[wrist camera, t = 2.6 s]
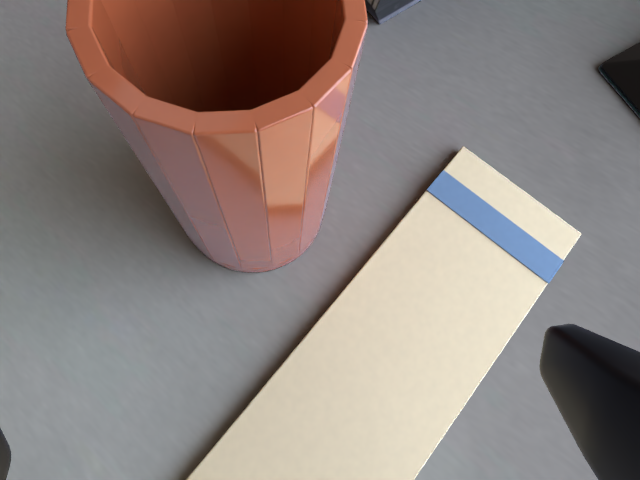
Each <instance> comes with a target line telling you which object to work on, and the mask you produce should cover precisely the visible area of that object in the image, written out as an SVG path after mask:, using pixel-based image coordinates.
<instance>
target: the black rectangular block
mask: <svg viewBox="0 0 640 480" xmlns="http://www.w3.org/2000/svg"><path fill="white" fill-rule="evenodd" d="M599 72H600V73H601V74H602V75H603V76H604V77H605V79H606V80H607V81H608V82H609V83H610V84H611V86H612V87H613V88H614V89H615V90H616V91H617V93H618V94H619V95H620V96H621V97H622V98H623V100H624V101H625V102H626V103H627V104H628V105H629V106H630V108H631V109H632V110H633V111H634V112H635V113H636V115H637V116H638V117H639V118H640V43H638V44H636V45H634V46H633V47H631V48H629V49H627V50H625V51H624V52H622V53H620V54H618V55H616V56H615V57H613V58H611V59H609V60H607V61H606V62H604V63H603V64H602V65H601V66H600V67H599Z"/></svg>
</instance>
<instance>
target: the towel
mask: <svg viewBox="0 0 640 480" xmlns="http://www.w3.org/2000/svg"><path fill="white" fill-rule="evenodd" d="M580 235H581V233H580V232H579V231H577V230H576V229H574V228H573V227H572V226H570V225H569V224H568V223H566V222H565V221H564V220H562V219H561V218H560V217H558V216H557V215H556V214H554V213H553V212H552V211H550V210H549V209H547V208H546V207H545V206H543V205H542V204H541V203H539V202H538V201H537V200H535V199H534V198H533V197H531V196H530V195H529V194H527V193H526V192H525V191H523V190H522V189H520V188H519V187H518V186H516V185H515V184H514V183H512V182H511V181H510V180H508V179H507V178H506V177H504V176H503V175H502V174H500V173H499V172H498V171H496V170H495V169H493V168H492V167H491V166H489V165H488V164H487V163H485V162H484V161H483V160H481V159H480V158H479V157H477V156H476V155H475V154H473V153H472V152H471V151H469V150H468V149H467V148H465V147H462V148H461V149H460V150H459V152H458V153H457V154H456V155H455V156H454V158H453V159H452V160H451V161H450V162H449V164H448V165H447V166H446V167H445V168H444V170H443V171H442V172H441V173H440V174H439V176H438V177H437V178H436V179H435V180H434V182H433V183H432V184H431V185H430V186H429V188H428V189H427V190H426V191H425V193H424V194H423V195H422V196H421V197H420V199H419V200H418V201H417V202H416V203H415V205H414V206H413V207H412V208H411V209H410V211H409V212H408V213H407V214H406V215H405V217H404V218H403V219H402V220H401V221H400V223H399V224H398V225H397V226H396V227H395V229H394V230H393V231H392V232H391V233H390V235H389V236H388V237H387V238H386V239H385V241H384V242H383V243H382V244H381V245H380V247H379V248H378V249H377V250H376V252H375V253H374V254H373V255H372V256H371V258H370V259H369V260H368V261H367V262H366V264H365V265H364V266H363V267H362V268H361V270H360V271H359V272H358V273H357V274H356V276H355V277H354V278H353V279H352V280H351V282H350V283H349V284H348V285H347V286H346V288H345V289H344V290H343V291H342V292H341V294H340V295H339V296H338V297H337V298H336V300H335V301H334V302H333V303H332V305H331V306H330V307H329V308H328V309H327V311H326V312H325V313H324V314H323V315H322V317H321V318H320V319H319V320H318V321H317V323H316V324H315V325H314V326H313V327H312V329H311V330H310V331H309V332H308V333H307V335H306V336H305V337H304V338H303V339H302V341H301V342H300V343H299V344H298V345H297V347H296V348H295V349H294V350H293V351H292V353H291V354H290V355H289V356H288V357H287V359H286V360H285V361H284V362H283V364H282V365H281V366H280V367H279V368H278V370H277V371H276V372H275V373H274V374H273V376H272V377H271V378H270V379H269V380H268V382H267V383H266V384H265V385H264V386H263V388H262V389H261V390H260V391H259V392H258V394H257V395H256V396H255V397H254V398H253V400H252V401H251V402H250V403H249V404H248V406H247V407H246V408H245V409H244V410H243V412H242V413H241V414H240V415H239V416H238V418H237V419H236V420H235V421H234V423H233V424H232V425H231V426H230V427H229V429H228V430H227V431H226V432H225V433H224V435H223V436H222V437H221V438H220V439H219V441H218V442H217V443H216V444H215V445H214V447H213V448H212V449H211V450H210V451H209V453H208V454H207V455H206V456H205V457H204V459H203V460H202V461H201V462H200V463H199V465H198V466H197V467H196V468H195V469H194V471H193V472H192V473H191V474H190V475H189V477H188V478H187V479H186V480H414V479H415V478H416V476H417V475H418V473H419V472H420V470H421V469H422V467H423V466H424V464H425V463H426V461H427V460H428V458H429V457H430V456H431V454H432V453H433V451H434V450H435V448H436V447H437V445H438V444H439V442H440V441H441V439H442V438H443V436H444V435H445V434H446V432H447V431H448V429H449V428H450V426H451V425H452V423H453V422H454V420H455V419H456V417H457V416H458V414H459V413H460V412H461V410H462V409H463V407H464V406H465V404H466V403H467V401H468V400H469V398H470V397H471V395H472V394H473V392H474V391H475V389H476V388H477V387H478V385H479V384H480V382H481V381H482V379H483V378H484V376H485V375H486V373H487V372H488V370H489V369H490V367H491V366H492V365H493V363H494V362H495V360H496V359H497V357H498V356H499V354H500V353H501V351H502V350H503V348H504V347H505V345H506V344H507V343H508V341H509V340H510V338H511V337H512V335H513V334H514V332H515V331H516V329H517V328H518V326H519V325H520V323H521V322H522V321H523V319H524V318H525V316H526V315H527V313H528V312H529V310H530V309H531V307H532V306H533V304H534V303H535V301H536V300H537V299H538V297H539V296H540V294H541V293H542V291H543V290H544V288H545V287H546V285H547V284H548V283H550V281H551V280H552V278H553V277H554V275H555V274H556V272H557V271H558V269H559V268H560V266H561V265H562V263H563V262H564V259H565V257H566V256H567V254H568V253H569V252H570V250H571V249H572V247H573V246H574V244H575V243H576V241H577V240H578V238H579V237H580Z"/></svg>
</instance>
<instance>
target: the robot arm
mask: <svg viewBox="0 0 640 480" xmlns="http://www.w3.org/2000/svg"><path fill="white" fill-rule="evenodd" d="M540 372H541V376H542V378H543V380H544V382H545V384H546V386H547V388H548V390H549V392H550V394H551V396H552V397H553V399H554V401H555V403H556V405H557V407H558V409H559V411H560V413H561V415H562V416H563V418H564V420H565V422H566V424H567V426H568V428H569V430H570V432H571V433H572V435H573V437H574V439H575V441H576V443H577V445H578V447H579V448H580V450H581V452H582V454H583V456H584V457H585V459H586V461H587V462H588V464H589V466H590V467H591V469H592V470H593V472H594V473H595V475H596V477H597V478H598V480H640V352H638V351H636V350H634V349H631V348H629V347H626V346H624V345H622V344H619V343H617V342H615V341H612V340H610V339H608V338H605V337H603V336H600V335H598V334H596V333H593V332H591V331H589V330H586V329H584V328H582V327H579V326H577V325H574V324H564V325H557V326H552V327H550V328H548V329H547V331H546V332H545V336H544V342H543V348H542V353H541V359H540ZM10 462H11V451H10V447H9V444H8V442H7V440H6V438H5V436H4V434H3V432H2V430H1V428H0V480H6V478H7V474H8V470H9V467H10Z"/></svg>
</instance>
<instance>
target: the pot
mask: <svg viewBox="0 0 640 480" xmlns="http://www.w3.org/2000/svg"><path fill="white" fill-rule="evenodd" d="M367 24H368V18H367V12H366V5H365V0H68V2H67V16H66V35H67V37H68V39H69V41H70V44H71V46H72V48H73V50H74V52H75V55H76V57H77V59H78V61H79V63H80V66H81V68H82V70H83V72H84V74H85V77H86V78H87V80H88V81H89V83H90V85H91V86H92V88H93V89H94V91H95V92H96V94H97V95H98V97H99V99H100V100H101V102H102V103H103V105H104V106H105V108H106V109H107V111H108V113H109V114H110V116H111V117H112V119H113V120H114V122H115V123H116V125H117V126H118V128H119V130H120V131H121V133H122V134H123V136H124V137H125V139H126V140H127V142H128V144H129V145H130V147H131V148H132V150H133V151H134V153H135V154H136V156H137V157H138V159H139V161H140V162H141V164H142V165H143V167H144V168H145V170H146V171H147V173H148V175H149V176H150V178H151V179H152V181H153V182H154V184H155V185H156V187H157V189H158V190H159V192H160V193H161V195H162V196H163V198H164V199H165V201H166V202H167V204H168V206H169V207H170V209H171V210H172V212H173V213H174V215H175V216H176V218H177V220H178V221H179V223H180V224H181V226H182V227H183V229H184V230H185V232H186V233H187V235H188V237H189V238H190V240H191V241H192V242H193V243H194V244H195V245H196V246H197V247H198V249H199V250H200V251H201V252H202V253H203V254H204V255H205V256H207V257H208V258H209V259H211V260H212V261H214V262H215V263H217V264H219V265H221V266H223V267H226V268H229V269H232V270H236V271H241V272H264V271H269V270H273V269H277V268H279V267H282V266H284V265H286V264H288V263H290V262H292V261H293V260H295V259H296V258H297V257H299V256H300V255H301V254H302V253H303V252H304V251H305V250H306V249H307V248H308V247H309V246H310V245H311V243H312V242H313V241H314V239H315V237H316V236H317V234H318V232H319V229H320V227H321V224H322V220H323V216H324V213H325V210H326V206H327V202H328V198H329V193H330V189H331V185H332V180H333V176H334V171H335V167H336V163H337V158H338V154H339V150H340V145H341V141H342V136H343V132H344V128H345V123H346V119H347V114H348V110H349V106H350V101H351V97H352V93H353V88H354V84H355V79H356V75H357V71H358V66H359V62H360V58H361V53H362V49H363V44H364V40H365V36H366V31H367V27H368V26H367Z"/></svg>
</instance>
